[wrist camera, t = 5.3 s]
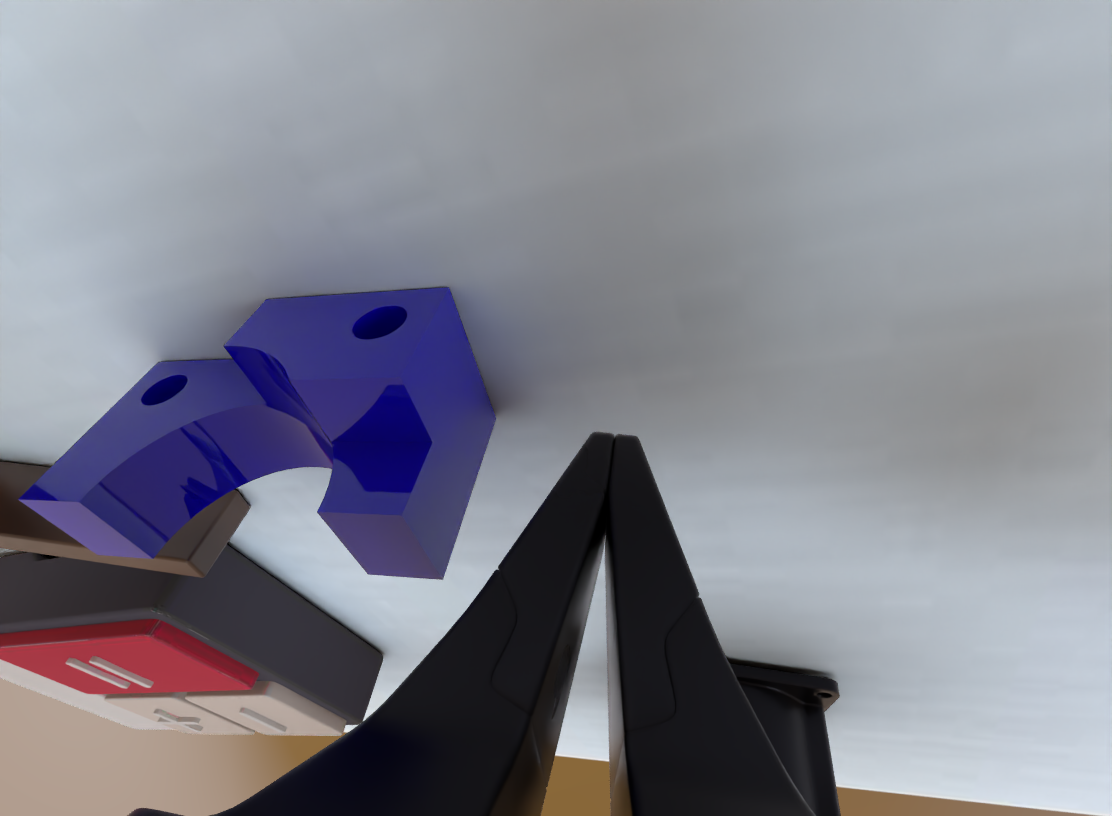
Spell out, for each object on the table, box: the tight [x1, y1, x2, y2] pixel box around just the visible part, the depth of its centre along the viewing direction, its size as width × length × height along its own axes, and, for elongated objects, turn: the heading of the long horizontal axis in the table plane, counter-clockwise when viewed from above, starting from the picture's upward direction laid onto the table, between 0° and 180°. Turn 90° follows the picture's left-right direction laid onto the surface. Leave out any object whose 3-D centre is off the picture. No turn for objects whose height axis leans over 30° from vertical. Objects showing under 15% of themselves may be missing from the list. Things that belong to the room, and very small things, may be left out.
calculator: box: [0, 544, 383, 736], centre depth 24 cm, size 11×4×15 cm
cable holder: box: [18, 287, 496, 580], centre depth 11 cm, size 8×4×4 cm, turn 101°
